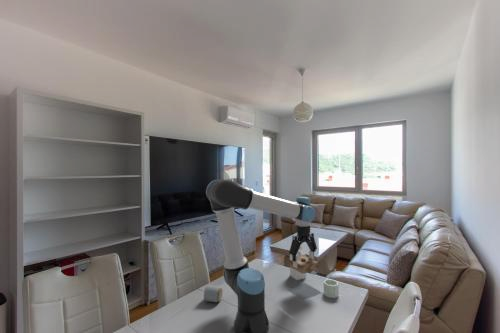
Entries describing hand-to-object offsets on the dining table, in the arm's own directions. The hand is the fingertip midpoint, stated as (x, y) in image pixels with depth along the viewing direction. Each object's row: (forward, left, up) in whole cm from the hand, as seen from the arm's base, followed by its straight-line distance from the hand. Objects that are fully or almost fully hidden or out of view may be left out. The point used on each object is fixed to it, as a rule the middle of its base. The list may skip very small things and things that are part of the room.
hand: (303, 264), depth 133 cm
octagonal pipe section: (+10, -10, -15) cm, 21 cm away
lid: (0, 0, -2) cm, 2 cm away
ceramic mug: (-45, +20, -15) cm, 52 cm away
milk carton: (+9, +15, -15) cm, 23 cm away
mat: (0, 0, -15) cm, 15 cm away
